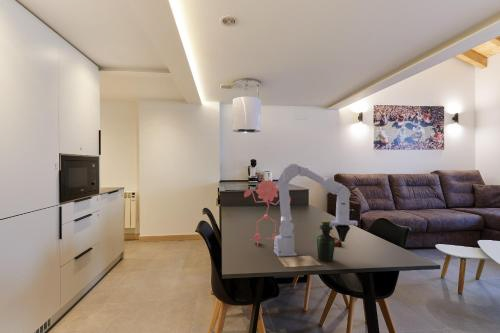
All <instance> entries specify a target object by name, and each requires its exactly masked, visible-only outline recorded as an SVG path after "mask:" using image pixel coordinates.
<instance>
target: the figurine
mask: <svg viewBox="0 0 500 333" xmlns="http://www.w3.org/2000/svg"><path fill="white" fill-rule="evenodd" d="M257 188H258V189H256V190H255V193H256V194H257V195H258V196H257V197H258V199H260V200H261V201H256V198H255V194H254V191H253V188H252V187H251V188H249V189H247V190H246V191H245V192H244V193H243V195H244V198H247V197H249V196H250V195H251V194H252V197H253V200H254V203H266V205H267V209H266V213H265V214H264V215H263V217H262V218H261V219H259V220H257V223H258V222H261V220H268V219H270V220H271V221H272V222H274V223H275V225H277V224H278V223H277V222H276V221H275V220H274V219H272V218H270V216H269V215H268V211H269V208H270V204H271V205H275V206H277V205H278V204H279V203H280V199H278V201H277V202H276V203H274V202H273V201H274V198H278V196H279V187H277V182H276V181H272V180H271V179H268V180H265V179H262V180H261V182H260V183H258V184H257ZM289 200H290V203H291V201H292V198H291V196H290V195H289ZM258 229H259V228H258V226H256V231H257V232H256V234H255V235H254V236H253V238H252V239H250V240H253V241H254V242H255V243H257V244H256V245H257V246H259V240H260V239H261V233H259V230H258ZM274 229H275V230H274V233H273V234H272V236H271V238H270V237H267V239H270V240H271V239H272V240H273V241H274V238H275V236H278V235H279V234H276V231H277V226H274Z"/></svg>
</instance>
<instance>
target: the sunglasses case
mask: <svg viewBox="0 0 500 333" xmlns="http://www.w3.org/2000/svg"><path fill="white" fill-rule="evenodd" d="M329 235H330V236H332V237H333V238H334V239H335V246H334V248H336V247H338V248H342V246H343V244H342V243H343V242H341V241H340V240H339V238H337V236H336V235H334V234H333V233H332V232H331V231H330V233H329Z"/></svg>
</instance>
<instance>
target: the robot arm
mask: <svg viewBox="0 0 500 333" xmlns="http://www.w3.org/2000/svg"><path fill="white" fill-rule="evenodd" d="M297 176H299V177H306V178H309V179H310V180H312V181H314V182H316V183H318V184H320V186H321V189H323V190H324V191H326V192H329V193H330V194H332V195H336V201H335V202H336V206H335V207H336V208H335V220H329V221H330V225H329V227H331V226H332V227H334V228H335V229H336V232H337V234H338V240H340V242H341V243H344V242H346V237H347V235H348V232H349V231H350V229H351V226H358V222H359V221H357V220H350V197H351V191H350V189H349V188H348V187H347V186H346V185H343V183H340V182H338V181H335V180H334V178H332V177H327V176H326V177H323V176H321V175H318V174H317V173H315V172H313V171H312V170H310V169H309V168H307V167H304V166H301V165H298V164H296V163H289V164H287V166H286V167H284V168H283V170H282V172H281V174H280V176H279V178H278V180H277V184H278V189H279V191H278V196H279V200H280V201H279V209H280V226H279V230H278V231H279V234H277V235H278V236H275V238H274V240H273V241H274V242H273V252H274V253H275V254H276V256H277V257H278V258H280V257H297V256H298V254H297V253H296V252H295V234H294V229H295V223H294V222H293V219H292V214H291V202H290V200H289V196H290V190H289V183H290V182H291V181H292V180H293V179H294V178H295V177H297Z"/></svg>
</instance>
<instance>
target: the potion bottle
mask: <svg viewBox="0 0 500 333" xmlns="http://www.w3.org/2000/svg"><path fill="white" fill-rule="evenodd" d="M330 221H331V220H326V219H324V220H323V219H322V220H321V222H322V223H321V225H319V229H320V230H321V232H322V234H319V235H318V236H317V237H316V249H317V259H318V261H319V262H322V263H332V262H333V261H334V253H335V247H334V246H335V239H334V238H333V237H332V236H330V235H329V233H330V232H331V231H332V230H333V226H331V227H329V225H330Z"/></svg>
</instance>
